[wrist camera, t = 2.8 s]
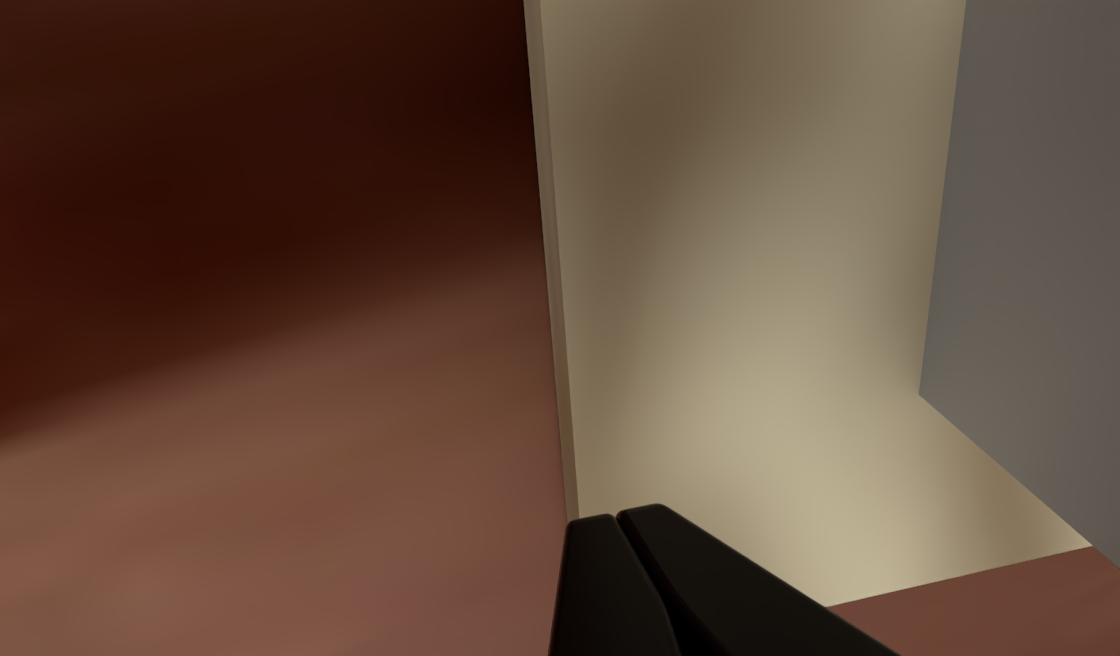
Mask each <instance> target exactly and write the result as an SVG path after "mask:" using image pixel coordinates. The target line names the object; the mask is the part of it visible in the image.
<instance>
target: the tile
mask: <svg viewBox="0 0 1120 656" xmlns="http://www.w3.org/2000/svg"><path fill="white" fill-rule="evenodd" d="M919 395H920V396H921V397H922V398H923V399H924V400H925V401H927V402H928V403H929V404H930V405H931V406H932V407H933V408H935V409H936V410H937V411H938V412H939V413H940V414H942V415H943V416H944V417H945V418H946V419H947V420H948V421H950V422H951V423H952V424H953V425H954V426H955V427H957V428H958V429H959V430H960V431H961V432H962V433H963V434H965V435H966V436H967V437H968V438H969V439H970V440H972V441H973V442H974V443H975V444H976V445H977V446H978V447H980V448H981V449H982V450H983V451H984V452H985V453H987V454H988V455H989V456H990V457H991V458H992V459H993V460H995V461H996V462H997V463H998V464H999V465H1000V466H1002V467H1003V468H1004V469H1005V470H1006V471H1007V472H1008V473H1010V474H1011V475H1012V476H1013V477H1014V478H1015V479H1016V480H1018V481H1019V482H1020V483H1021V484H1022V485H1023V486H1025V487H1026V488H1027V489H1028V490H1029V491H1030V492H1031V493H1033V494H1034V495H1035V496H1036V497H1037V498H1038V499H1040V500H1041V501H1042V502H1043V503H1044V504H1045V505H1046V506H1048V507H1049V508H1050V509H1051V510H1052V511H1053V512H1055V513H1056V514H1057V515H1058V516H1059V517H1060V518H1061V519H1063V520H1064V521H1065V522H1066V523H1067V524H1068V525H1070V526H1071V527H1072V528H1073V529H1074V530H1075V531H1076V532H1078V533H1079V534H1080V535H1081V536H1082V537H1083V538H1085V539H1086V540H1087V541H1088V542H1089V543H1090V544H1091V545H1093V546H1094V547H1095V548H1096V549H1097V550H1098V551H1100V552H1101V553H1102V554H1103V555H1104V556H1105V557H1106V558H1108V559H1109V560H1110V561H1111V562H1112V563H1113V564H1115V565H1116V566H1117V567H1118V568H1119V569H1120V0H966V6H965V15H964V23H963V31H962V40H961V48H960V56H959V65H958V73H957V81H956V89H955V98H954V106H953V114H952V123H951V131H950V139H949V148H948V156H947V164H946V172H945V181H944V189H943V197H942V206H941V214H940V222H939V231H938V239H937V247H936V255H935V264H934V272H933V280H932V289H931V297H930V305H929V314H928V322H927V330H926V338H925V347H924V355H923V363H922V372H921V380H920V388H919Z"/></svg>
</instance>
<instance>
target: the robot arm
mask: <svg viewBox="0 0 1120 656" xmlns="http://www.w3.org/2000/svg"><path fill="white" fill-rule="evenodd" d="M548 656H901V655H899V654H898V653H896V652H895V651H893V650H892V649H890V648H888V647H887V646H885V645H884V644H882V643H881V642H879V641H877V640H876V639H874V638H873V637H871V636H870V635H868V634H866V633H865V632H863V631H862V630H860V629H859V628H857V627H856V626H854V625H852V624H851V623H849V622H848V621H846V620H845V619H843V618H841V617H840V616H838V615H837V614H835V613H834V612H832V611H830V610H829V609H827V608H826V607H824V606H823V605H821V604H820V603H818V602H816V601H815V600H813V599H812V598H810V597H809V596H807V595H805V594H804V593H802V592H801V591H799V590H798V589H796V588H794V587H793V586H791V585H790V584H788V583H787V582H785V581H784V580H782V579H780V578H779V577H777V576H776V575H774V574H773V573H771V572H769V571H768V570H766V569H765V568H763V567H762V566H760V565H758V564H757V563H755V562H754V561H752V560H751V559H749V558H748V557H746V556H744V555H743V554H741V553H740V552H738V551H737V550H735V549H733V548H732V547H730V546H729V545H727V544H726V543H724V542H722V541H721V540H719V539H718V538H716V537H715V536H713V535H712V534H710V533H708V532H707V531H705V530H704V529H702V528H701V527H699V526H697V525H696V524H694V523H693V522H691V521H690V520H688V519H687V518H685V517H683V516H682V515H680V514H679V513H677V512H676V511H674V510H672V509H671V508H669V507H668V506H666V505H663V504H660V503H653V504H648V505H644V506H639V507H634V508H629V509H624V510H621V511H619V512H618V513H617V515H616V517H615V516H614V515H611V514H608V513H604V514H599V515H594V516H589V517H584V518H579V519H574V520H571V521H570V522H569V523H568V524H567V526H566V530H565V537H564V544H563V551H562V558H561V565H560V572H559V579H558V586H557V593H556V600H555V607H554V614H553V621H552V629H551V636H550V643H549V650H548Z"/></svg>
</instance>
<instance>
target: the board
mask: <svg viewBox="0 0 1120 656" xmlns="http://www.w3.org/2000/svg"><path fill="white" fill-rule="evenodd" d="M965 6H966V0H524V12H525V24H526V36H527V48H528V60H529V72H530V84H531V96H532V108H533V120H534V132H535V144H536V156H537V168H538V179H539V191H540V203H541V215H542V227H543V239H544V251H545V263H546V275H547V287H548V299H549V311H550V323H551V335H552V347H553V359H554V371H555V383H556V394H557V406H558V418H559V430H560V442H561V454H562V466H563V478H564V490H565V502H566V514H567V524H568V523H569V522H570V521H571V520H574V519H579V518H584V517H589V516H594V515H599V514H604V513H608V514H611V515H614V516H615V517H616V515H617V513H618V512H619V511H621V510H624V509H629V508H634V507H639V506H644V505H648V504H653V503H660V504H663V505H666V506H668V507H669V508H671V509H672V510H674V511H676V512H677V513H679V514H680V515H682V516H683V517H685V518H687V519H688V520H690V521H691V522H693V523H694V524H696V525H697V526H699V527H701V528H702V529H704V530H705V531H707V532H708V533H710V534H712V535H713V536H715V537H716V538H718V539H719V540H721V541H722V542H724V543H726V544H727V545H729V546H730V547H732V548H733V549H735V550H737V551H738V552H740V553H741V554H743V555H744V556H746V557H748V558H749V559H751V560H752V561H754V562H755V563H757V564H758V565H760V566H762V567H763V568H765V569H766V570H768V571H769V572H771V573H773V574H774V575H776V576H777V577H779V578H780V579H782V580H784V581H785V582H787V583H788V584H790V585H791V586H793V587H794V588H796V589H798V590H799V591H801V592H802V593H804V594H805V595H807V596H809V597H810V598H812V599H813V600H815V601H816V602H818V603H820V604H821V605H823V606H824V607H828V606H832V605H837V604H841V603H845V602H850V601H854V600H858V599H863V598H867V597H871V596H876V595H880V594H885V593H889V592H893V591H898V590H902V589H906V588H911V587H915V586H919V585H924V584H928V583H932V582H937V581H941V580H945V579H950V578H954V577H958V576H963V575H967V574H972V573H976V572H980V571H985V570H989V569H993V568H998V567H1002V566H1006V565H1011V564H1015V563H1019V562H1024V561H1028V560H1032V559H1037V558H1041V557H1046V556H1050V555H1054V554H1059V553H1063V552H1067V551H1072V550H1076V549H1080V548H1085V547H1089V546H1093V545H1091V544H1090V543H1089V542H1088V541H1087V540H1086V539H1085V538H1083V537H1082V536H1081V535H1080V534H1079V533H1078V532H1076V531H1075V530H1074V529H1073V528H1072V527H1071V526H1070V525H1068V524H1067V523H1066V522H1065V521H1064V520H1063V519H1061V518H1060V517H1059V516H1058V515H1057V514H1056V513H1055V512H1053V511H1052V510H1051V509H1050V508H1049V507H1048V506H1046V505H1045V504H1044V503H1043V502H1042V501H1041V500H1040V499H1038V498H1037V497H1036V496H1035V495H1034V494H1033V493H1031V492H1030V491H1029V490H1028V489H1027V488H1026V487H1025V486H1023V485H1022V484H1021V483H1020V482H1019V481H1018V480H1016V479H1015V478H1014V477H1013V476H1012V475H1011V474H1010V473H1008V472H1007V471H1006V470H1005V469H1004V468H1003V467H1002V466H1000V465H999V464H998V463H997V462H996V461H995V460H993V459H992V458H991V457H990V456H989V455H988V454H987V453H985V452H984V451H983V450H982V449H981V448H980V447H978V446H977V445H976V444H975V443H974V442H973V441H972V440H970V439H969V438H968V437H967V436H966V435H965V434H963V433H962V432H961V431H960V430H959V429H958V428H957V427H955V426H954V425H953V424H952V423H951V422H950V421H948V420H947V419H946V418H945V417H944V416H943V415H942V414H940V413H939V412H938V411H937V410H936V409H935V408H933V407H932V406H931V405H930V404H929V403H928V402H927V401H925V400H924V399H923V398H922V397H921V396H920V395H919V388H920V380H921V372H922V363H923V355H924V347H925V338H926V330H927V322H928V314H929V305H930V297H931V289H932V280H933V272H934V264H935V255H936V247H937V239H938V231H939V222H940V214H941V206H942V197H943V189H944V181H945V172H946V164H947V156H948V148H949V139H950V131H951V123H952V114H953V106H954V98H955V89H956V81H957V73H958V65H959V56H960V48H961V40H962V31H963V23H964V15H965Z"/></svg>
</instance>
